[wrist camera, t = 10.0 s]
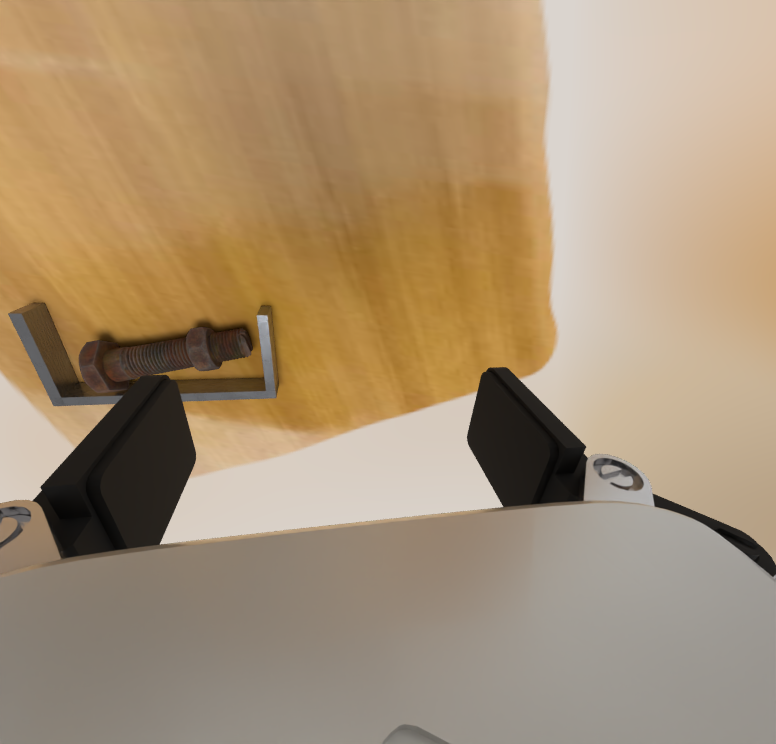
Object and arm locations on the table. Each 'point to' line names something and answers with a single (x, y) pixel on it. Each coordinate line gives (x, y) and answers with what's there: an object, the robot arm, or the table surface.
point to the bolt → (159, 357)
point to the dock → (68, 391)
